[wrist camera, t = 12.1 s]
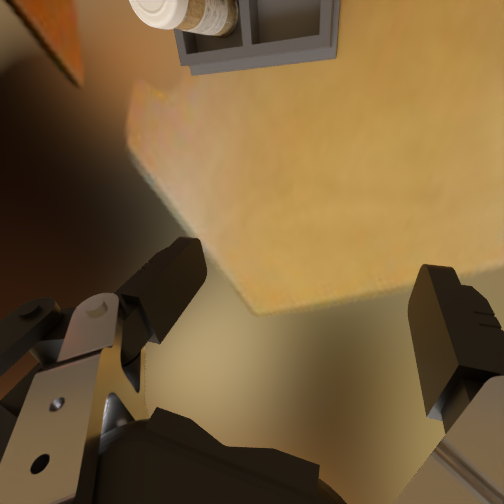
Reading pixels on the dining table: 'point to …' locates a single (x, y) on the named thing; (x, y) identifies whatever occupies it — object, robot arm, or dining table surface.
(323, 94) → the dining table surface
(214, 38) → the caddy
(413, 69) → the dining table surface
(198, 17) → the sprinkles bottle
